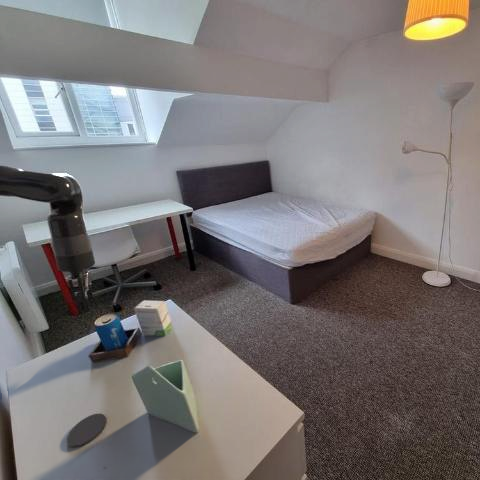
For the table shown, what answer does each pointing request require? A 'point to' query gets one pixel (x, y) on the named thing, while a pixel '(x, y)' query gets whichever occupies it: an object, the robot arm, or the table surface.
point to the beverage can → (111, 332)
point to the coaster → (86, 430)
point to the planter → (168, 394)
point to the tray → (102, 355)
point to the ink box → (153, 317)
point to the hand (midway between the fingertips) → (86, 305)
